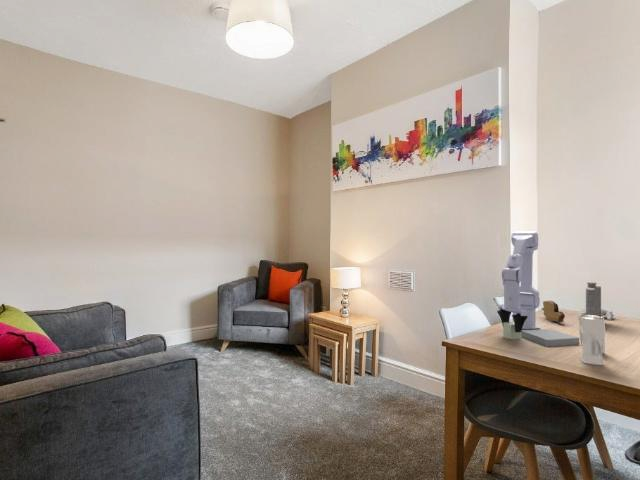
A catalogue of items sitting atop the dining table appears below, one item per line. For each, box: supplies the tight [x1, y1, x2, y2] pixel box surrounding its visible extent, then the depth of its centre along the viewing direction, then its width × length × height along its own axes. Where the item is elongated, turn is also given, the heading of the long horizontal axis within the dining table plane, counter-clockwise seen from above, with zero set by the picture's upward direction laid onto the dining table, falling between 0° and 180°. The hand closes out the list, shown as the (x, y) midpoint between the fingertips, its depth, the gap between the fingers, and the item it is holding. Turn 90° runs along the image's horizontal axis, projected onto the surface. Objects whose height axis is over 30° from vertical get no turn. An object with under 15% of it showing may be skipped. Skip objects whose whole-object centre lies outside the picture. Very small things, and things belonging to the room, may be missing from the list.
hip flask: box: [585, 281, 602, 317], centre depth 170 cm, size 16×4×20 cm, turn 132°
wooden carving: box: [541, 300, 566, 323], centre depth 178 cm, size 16×5×10 cm, turn 179°
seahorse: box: [577, 308, 615, 321], centre depth 181 cm, size 5×12×20 cm
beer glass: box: [578, 315, 606, 366], centre depth 121 cm, size 7×7×15 cm
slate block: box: [521, 328, 580, 347], centre depth 146 cm, size 14×14×3 cm
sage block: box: [502, 321, 522, 340], centre depth 150 cm, size 4×4×6 cm
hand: (511, 329), depth 150 cm, fingers open, 7 cm apart
